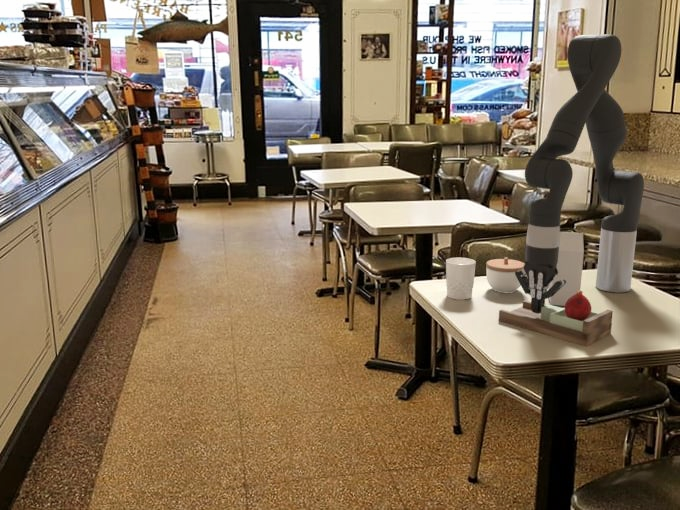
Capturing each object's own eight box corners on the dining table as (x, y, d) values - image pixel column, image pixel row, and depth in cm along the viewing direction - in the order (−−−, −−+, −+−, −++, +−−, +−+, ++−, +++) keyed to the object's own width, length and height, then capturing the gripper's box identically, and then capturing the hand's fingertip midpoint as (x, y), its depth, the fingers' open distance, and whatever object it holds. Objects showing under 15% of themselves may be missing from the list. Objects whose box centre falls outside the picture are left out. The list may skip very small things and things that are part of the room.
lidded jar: (480, 285, 196) (481, 253, 194) (516, 284, 197) (518, 252, 194) (491, 296, 186) (493, 263, 183) (529, 295, 186) (531, 262, 184)
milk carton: (578, 307, 176) (585, 236, 172) (550, 305, 178) (556, 234, 173) (575, 299, 183) (581, 230, 178) (547, 297, 184) (553, 229, 180)
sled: (553, 314, 166) (554, 301, 166) (603, 327, 157) (604, 314, 156) (533, 322, 161) (534, 309, 160) (584, 336, 151) (585, 323, 151)
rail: (524, 310, 174) (525, 289, 173) (610, 333, 158) (613, 310, 156) (498, 320, 166) (499, 298, 165) (586, 346, 150) (588, 322, 149)
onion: (586, 329, 154) (589, 296, 152) (560, 325, 156) (563, 292, 154) (592, 322, 158) (595, 289, 156) (566, 318, 161) (569, 285, 159)
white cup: (441, 298, 183) (443, 263, 181) (448, 290, 190) (449, 256, 188) (470, 302, 180) (472, 265, 178) (476, 294, 188) (478, 258, 185)
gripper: (576, 245, 158) (570, 315, 162) (527, 236, 167) (522, 302, 172) (559, 250, 153) (553, 323, 157) (509, 240, 163) (505, 309, 167)
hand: (537, 312), depth 165 cm, fingers closed
